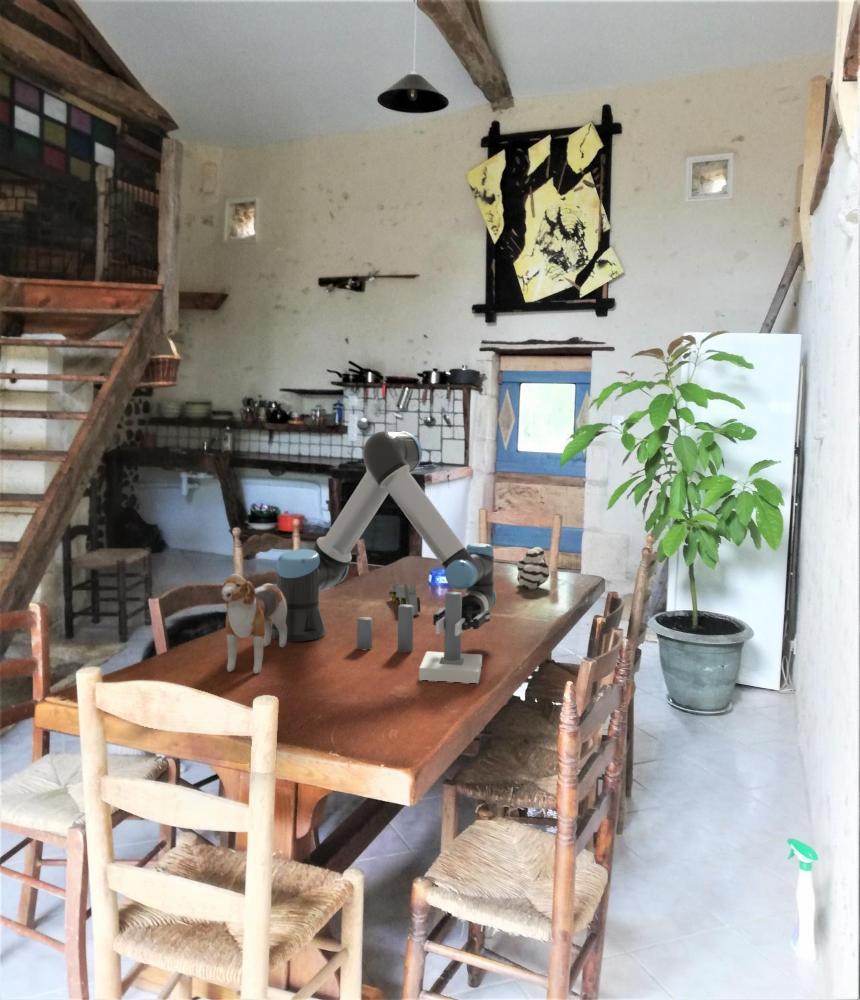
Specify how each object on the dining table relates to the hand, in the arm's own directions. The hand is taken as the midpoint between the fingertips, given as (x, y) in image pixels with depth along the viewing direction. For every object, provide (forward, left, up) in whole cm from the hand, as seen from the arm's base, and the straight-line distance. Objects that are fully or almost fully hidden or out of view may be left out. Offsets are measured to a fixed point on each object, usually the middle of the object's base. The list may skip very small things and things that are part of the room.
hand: (446, 629), depth 190 cm
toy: (-21, +72, -13) cm, 76 cm away
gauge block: (+1, +5, -12) cm, 13 cm away
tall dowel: (+1, +5, -9) cm, 10 cm away
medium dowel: (-13, +22, -12) cm, 29 cm away
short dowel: (-24, +22, -12) cm, 35 cm away
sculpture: (+21, +112, -12) cm, 115 cm away
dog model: (-48, +4, -13) cm, 50 cm away
